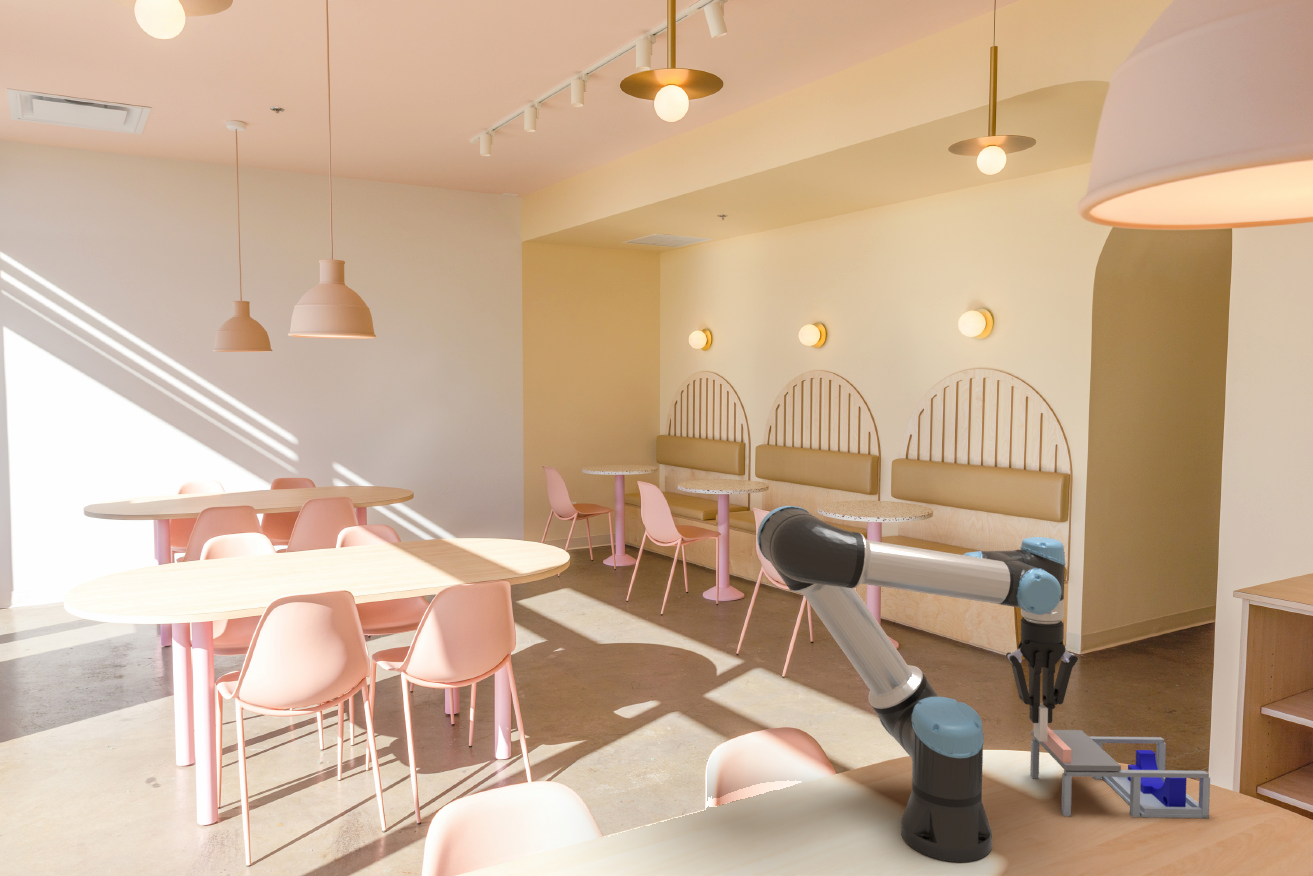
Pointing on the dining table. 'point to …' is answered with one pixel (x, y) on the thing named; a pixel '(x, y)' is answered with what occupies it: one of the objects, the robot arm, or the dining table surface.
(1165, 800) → the blue bracket
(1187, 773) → the grey frame rack
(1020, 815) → the dining table surface
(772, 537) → the robot arm
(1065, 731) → the lid
